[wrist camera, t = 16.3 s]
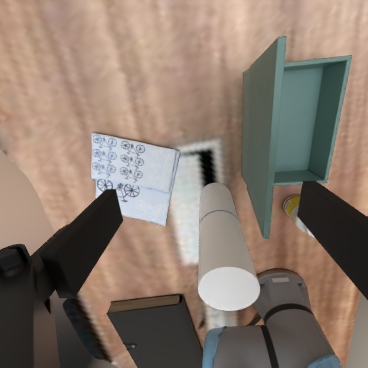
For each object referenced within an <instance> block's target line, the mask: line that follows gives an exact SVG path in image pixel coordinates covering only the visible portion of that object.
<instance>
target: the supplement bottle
mask: <svg viewBox="0 0 368 368" xmlns="http://www.w3.org/2000/svg"><path fill="white" fill-rule="evenodd" d="M300 196H301V195H292V196H290V197H288V198H287V199H286V200H285V202H284V204H283V209H284V211H285V212H286V214H287V215H288V216H289V217H290V219H291V220H292V221H293V222H294V224H295V225H296V226H297V227H298V228H299V229H300V230H301V231H304V232H307V233H308V235H310V236H311V237H314V236H313V234H312V233H311V232H310V231H309V230H308V228H307V227H306V226H305V225H304V224H303V223H302V221H301V220H300V219H299V218H298V217H297V213H298V207H299V201H300ZM314 238H315V237H314Z"/></svg>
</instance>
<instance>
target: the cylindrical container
mask: <svg viewBox="0 0 368 368" xmlns="http://www.w3.org/2000/svg"><path fill="white" fill-rule="evenodd" d="M198 292H199V295H200V297H201V299H202V300H203V301H204V302H205V303H206V304H208V305H209V306H211V307H213V308H216V309H219V310H223V311H236V310H240V309H243V308H246V307H248V306H250V305H251V304H252V303H254V302H255V301H256V299H257V298H258V296H259V293H260V285H259V282H258V279H257V275H256V272H255V269H254V266H253V263H252V260H251V257H250V253H249V250H248V247H247V244H246V241H245V238H244V235H243V231H242V228H241V225H240V222H239V219H238V216H237V213H236V209H235V206H234V203H233V200H232V197H231V194H230V191H229V189H228V188H227V187H226V186H225V185H223V184H221V183H210V184H208V185H206V186H205V187H204V188H203V189H202V191H201V193H200V220H199V269H198Z"/></svg>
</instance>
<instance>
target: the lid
mask: <svg viewBox="0 0 368 368" xmlns="http://www.w3.org/2000/svg"><path fill="white" fill-rule="evenodd" d="M286 38H287V37H286V36H284V37H278V38H277V39H276V40H275V41H274V42H273V43H272V44H271V45H270V46H269V48H268V49H267V50H266V51H265V52H264V53H263V54H262V55H261V56H260V57H259V58H258V59H257V60H256V61H255V62H254V63H253V65H252V66H251V67H250V99H249V132H248V165H247V190H248V193H249V196H250V200H251V203H252V206H253V209H254V212H255V215H256V218H257V221H258V224H259V227H260V230H261V233H262V236H263V239H269V235H270V223H271V212H272V200H273V188H274V177H275V165H276V154H277V142H278V130H279V119H280V107H281V96H282V84H283V73H284V61H285V49H286Z"/></svg>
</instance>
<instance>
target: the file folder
mask: <svg viewBox="0 0 368 368" xmlns="http://www.w3.org/2000/svg"><path fill="white" fill-rule="evenodd" d="M106 314H107V315H108V317H109V319H110V321H111V322H112V324H113V326H114V328H115V329H116V331H117V333H118V334H119V336H120V338H121V340H122V341H123V344H124V345H125V347H126V348H127V350H128V352H129V353H130V355H131V357H132V359H133V360H134V362H135V364H136V366H137V367H138V368H202V361H203V353H202V350H201V347H200V344H199V341H198V338H197V336H196V333H195V330H194V327H193V324H192V321H191V319H190V316H189V313H188V310H187V307H186V304H185V302H184V299H183V297H182V295H180V294H174V295H166V296H158V297H150V298H142V299H134V300H126V301H117V302H111V306H110V307H109V310H108V312H107V313H106Z"/></svg>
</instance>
